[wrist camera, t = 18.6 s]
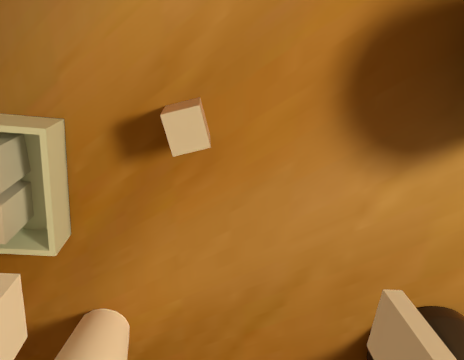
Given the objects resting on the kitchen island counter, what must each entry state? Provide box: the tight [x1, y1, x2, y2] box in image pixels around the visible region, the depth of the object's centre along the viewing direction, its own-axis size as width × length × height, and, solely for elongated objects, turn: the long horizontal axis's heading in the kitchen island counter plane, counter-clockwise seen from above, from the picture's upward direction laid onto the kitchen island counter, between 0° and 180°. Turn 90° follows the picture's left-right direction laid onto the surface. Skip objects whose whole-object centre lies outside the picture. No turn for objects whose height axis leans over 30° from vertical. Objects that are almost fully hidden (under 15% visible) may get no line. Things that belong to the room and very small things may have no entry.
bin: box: [0, 114, 71, 256], centre depth 36 cm, size 13×11×4 cm
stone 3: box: [160, 97, 211, 157], centre depth 35 cm, size 4×4×5 cm
